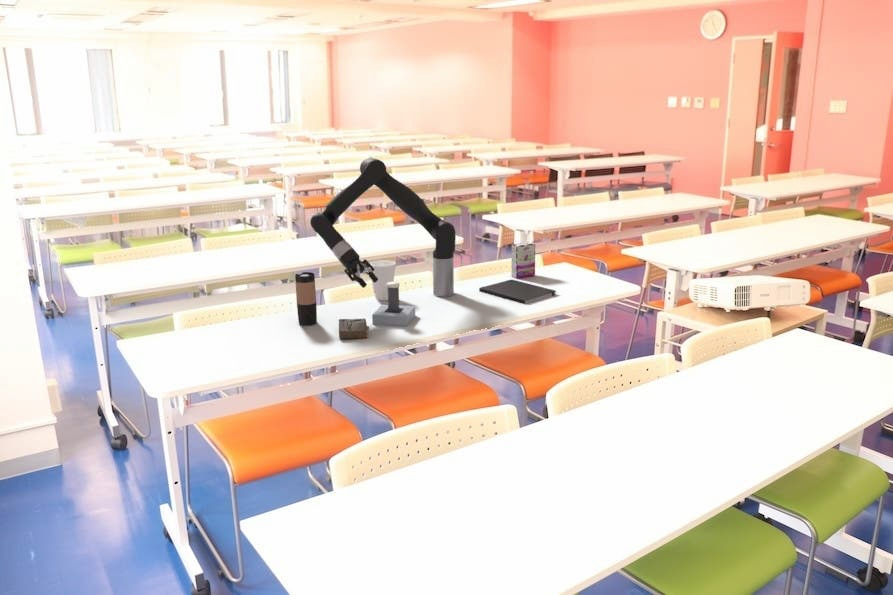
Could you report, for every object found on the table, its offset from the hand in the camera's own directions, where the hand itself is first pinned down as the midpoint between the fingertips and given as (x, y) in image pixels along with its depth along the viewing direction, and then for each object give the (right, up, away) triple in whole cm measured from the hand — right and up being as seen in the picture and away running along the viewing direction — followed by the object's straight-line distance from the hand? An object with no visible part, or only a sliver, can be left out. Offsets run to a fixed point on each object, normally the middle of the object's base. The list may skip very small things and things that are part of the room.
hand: (371, 283), depth 298 cm
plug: (+9, -15, -1) cm, 17 cm away
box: (-5, -19, -15) cm, 25 cm away
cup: (+2, -6, +29) cm, 30 cm away
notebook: (+63, -4, +36) cm, 73 cm away
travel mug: (-25, -16, -4) cm, 30 cm away
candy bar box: (+68, +5, +64) cm, 94 cm away
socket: (+9, -15, -1) cm, 17 cm away
